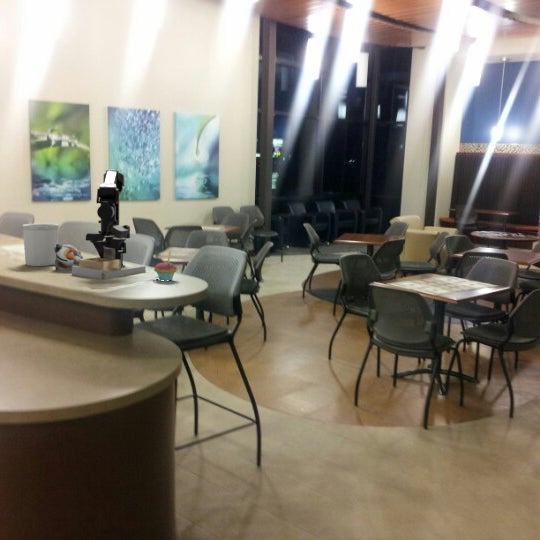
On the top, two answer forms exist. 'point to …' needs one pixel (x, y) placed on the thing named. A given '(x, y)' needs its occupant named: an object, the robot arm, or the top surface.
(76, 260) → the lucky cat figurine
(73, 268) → the tray
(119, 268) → the crate
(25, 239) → the utensil holder
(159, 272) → the cupcake
